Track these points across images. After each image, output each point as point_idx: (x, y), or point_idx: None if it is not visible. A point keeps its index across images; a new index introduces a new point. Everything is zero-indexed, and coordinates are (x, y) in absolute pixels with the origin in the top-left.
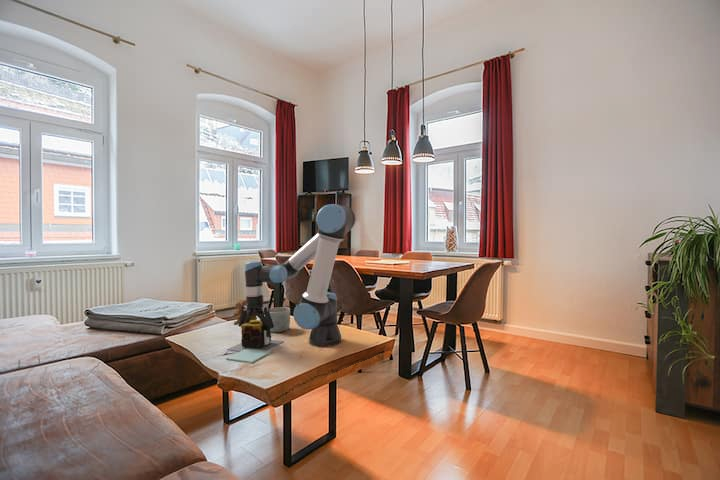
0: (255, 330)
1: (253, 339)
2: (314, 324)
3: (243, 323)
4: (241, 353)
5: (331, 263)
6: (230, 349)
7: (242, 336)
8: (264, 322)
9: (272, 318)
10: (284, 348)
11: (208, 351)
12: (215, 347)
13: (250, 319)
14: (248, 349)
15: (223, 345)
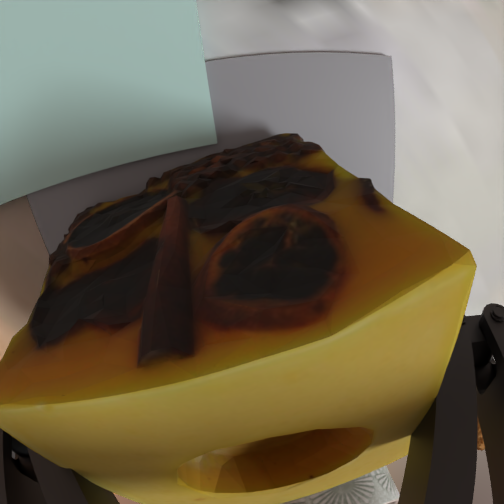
0: (86, 319)
1: (142, 214)
2: None
3: (469, 363)
4: (137, 7)
5: None
6: (359, 60)
7: (329, 171)
8: (43, 487)
9: (332, 488)
10: (6, 307)
11: (467, 10)
12: (484, 92)
13: (405, 468)
14: (169, 119)
15: (469, 144)
